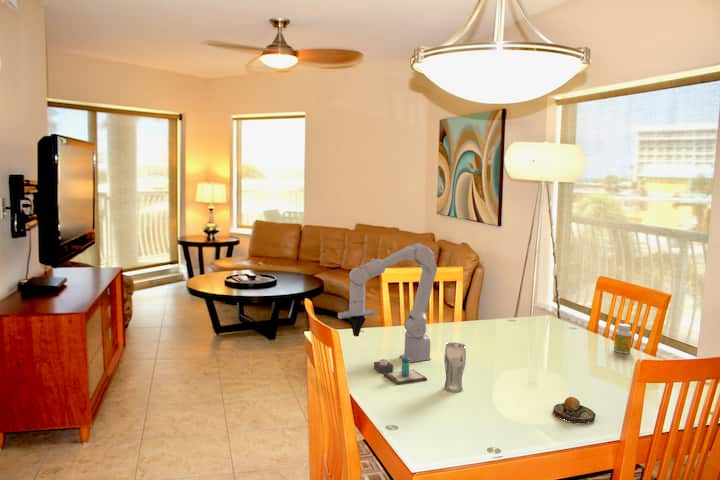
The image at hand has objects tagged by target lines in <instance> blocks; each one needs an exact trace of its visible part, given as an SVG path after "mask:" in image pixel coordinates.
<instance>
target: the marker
mask: <svg viewBox="0 0 720 480" xmlns="http://www.w3.org/2000/svg"><path fill="white" fill-rule="evenodd" d="M410 363H411V362H410V358H408V357H403V358H402V357H401V371H402V373H401V375H402V376H409V370H410Z"/></svg>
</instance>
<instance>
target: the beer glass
mask: <svg viewBox="0 0 720 480" xmlns="http://www.w3.org/2000/svg"><path fill="white" fill-rule="evenodd" d="M443 358H444V359H443V360H444V370H445V382H444V386H443V389H444V390H445V391H447V392H450V393H461V392H462V391H464V390H463V389H464V388H463V375H464V371H465V367H466V359H467V345H465V344H464V343H462V342H447V343H445V348H444V357H443Z"/></svg>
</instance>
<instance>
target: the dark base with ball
mask: <svg viewBox="0 0 720 480" xmlns="http://www.w3.org/2000/svg"><path fill="white" fill-rule="evenodd" d="M552 413H553V414H555V415H556V416H557V418H558V419H559V418H561V419H565V420H567V421H570V422H573V423H572V424H576V423H588V422H592V423H594V422H595V419H596V413H595V412H594V411H593V410H592V409H591V408H589V407H587V406H584V405H581V403H580V400H579V399H578V398H576V397H574V396H569V397H566V398H565V399H564V401H563V403H558V404H557V403H556V405H554V406H553V411H552ZM555 415H554V416H555ZM556 416H555V417H556ZM561 419H560V420H561ZM567 421H566V422H567ZM593 421H594V422H593ZM570 422H569V423H570Z"/></svg>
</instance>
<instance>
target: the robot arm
mask: <svg viewBox="0 0 720 480" xmlns="http://www.w3.org/2000/svg"><path fill="white" fill-rule="evenodd" d="M370 260H371V261H369V262H366V263H365V264H360V265H359V267H353V268H352V269H351V271H350V272H349V274H348V277H349V280H350V287H349V304H348V306H349V309H348V310H345V311H342V312H341V311H340V312H337V318H338V319H340V320H342V319H347V320H348V321H349V324H350V326H351V331H352V336H354V337H359V336H360V332H361V329H362V327H363V325H364V323H365V322H366V317H369V316H372V317H376V310H375V309H365V308H366V283H367V282H368V280H371V279H372V278H375V277H377V276H379V275H381V274H384V273H385V271H386V269H387V268H389V267H391V266H393V265H396V264H399V263H400V262H403V261H405V260H406V261H413V262H415V261H416V263H418V265H419V266H420V268H421V269H422V271H421V273H420V278H419V282H418V286H417V290H416V294H415V297H414V302H413V304H412V309H410V311H409V313H408V316H407V318H405V319H404V322H403V326H404V328H405V330H406V332H405V333H404V334H405V335H404V354H399V357H401V359H402V358H403V357H408V358H410V362H409V363H414V362H422V361H430V360H432V358H431V339H430V337H429V335H428V334H426V332H427V325H426V323H427V315H426V313H427V309H428V306H429V301H430V297H431V293H432V291H433V290H432V289H433V286H434V282H435V279H436V276H437V271H438V267H437V263H436V259H435V253H434V252H433V250H431V248H429V247H428V246H426V245H423V244H422V243H419V242H415V243H413V244H412V245H411V244H409V245H408V246H405V247H403V248H402V249H400V250H398V251H396V252H395V253H393V254H391V255H389V256H387V257H385V258H383V259H381V258H371V259H370Z"/></svg>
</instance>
